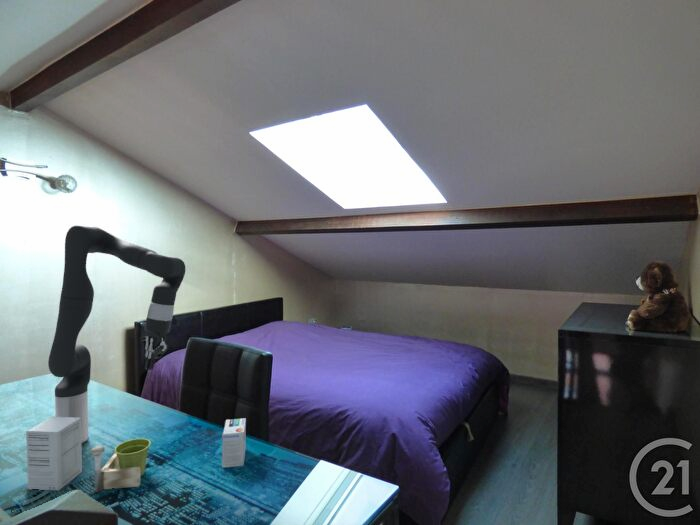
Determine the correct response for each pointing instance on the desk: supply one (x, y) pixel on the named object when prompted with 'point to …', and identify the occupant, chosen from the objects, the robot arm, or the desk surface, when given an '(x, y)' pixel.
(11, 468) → the desk surface
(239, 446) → the light bulb box
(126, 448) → the plant pot
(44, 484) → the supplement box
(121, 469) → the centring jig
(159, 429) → the desk surface
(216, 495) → the desk surface
